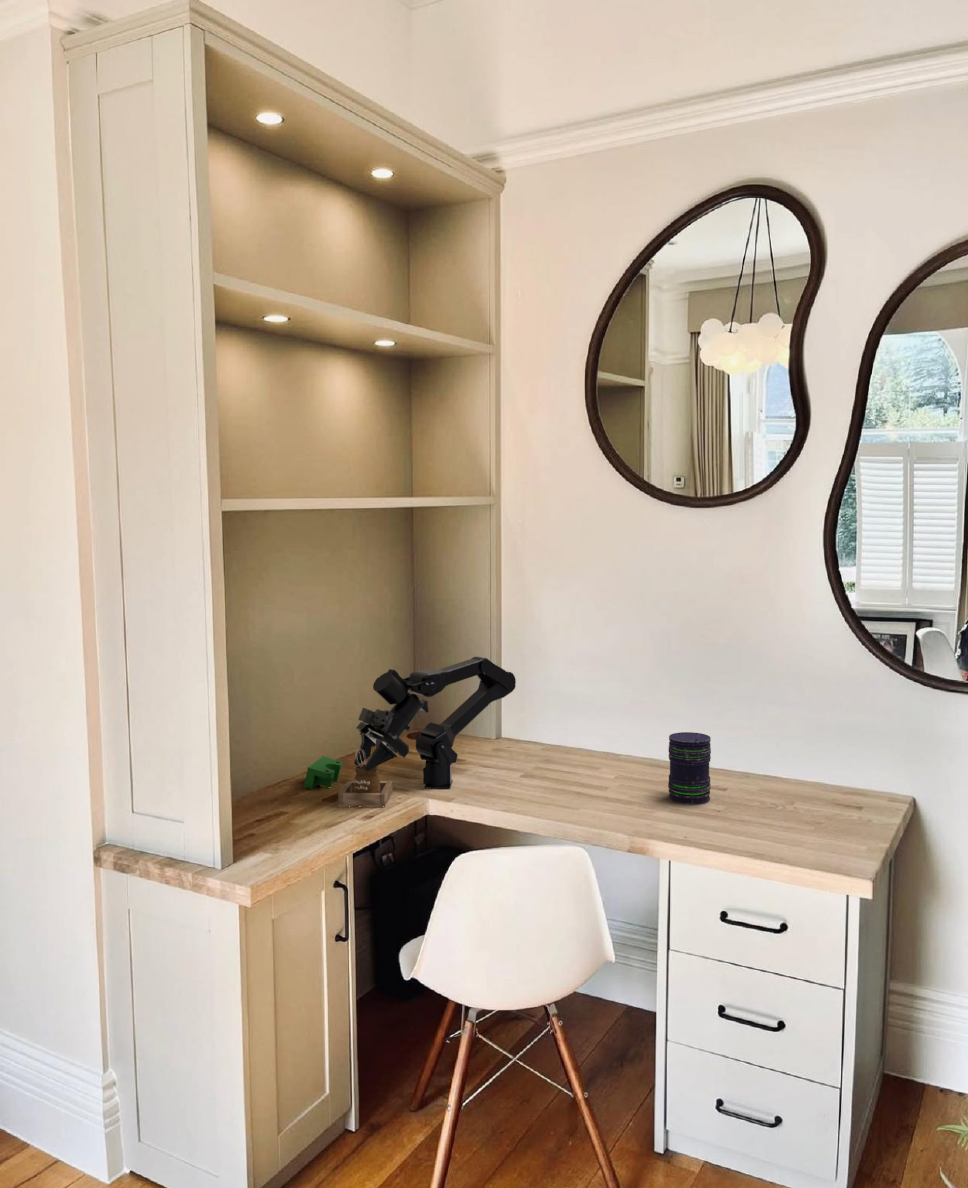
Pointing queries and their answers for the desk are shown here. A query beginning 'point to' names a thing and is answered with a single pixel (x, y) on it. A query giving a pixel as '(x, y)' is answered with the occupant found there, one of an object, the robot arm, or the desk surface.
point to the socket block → (364, 796)
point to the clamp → (323, 772)
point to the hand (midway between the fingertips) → (360, 767)
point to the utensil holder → (366, 778)
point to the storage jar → (689, 768)
